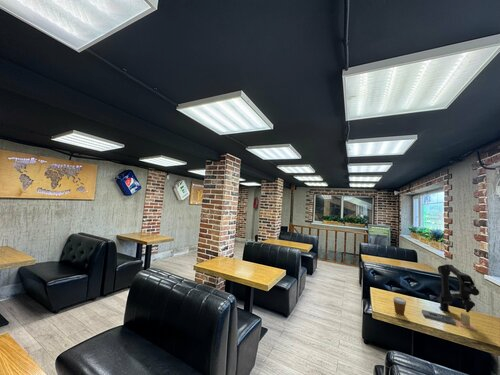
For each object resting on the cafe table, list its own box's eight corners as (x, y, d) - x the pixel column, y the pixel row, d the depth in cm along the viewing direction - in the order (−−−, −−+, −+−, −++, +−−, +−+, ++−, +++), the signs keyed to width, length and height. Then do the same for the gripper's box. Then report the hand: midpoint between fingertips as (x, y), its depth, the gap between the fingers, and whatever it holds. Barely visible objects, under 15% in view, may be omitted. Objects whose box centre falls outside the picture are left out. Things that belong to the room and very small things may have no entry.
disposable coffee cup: (400, 317, 173) (400, 302, 174) (390, 311, 182) (390, 297, 183) (409, 316, 176) (409, 301, 176) (398, 310, 185) (398, 296, 186)
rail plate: (421, 311, 184) (421, 309, 184) (451, 319, 174) (451, 316, 174) (424, 316, 176) (424, 314, 176) (456, 325, 166) (455, 322, 166)
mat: (454, 320, 173) (454, 319, 173) (471, 324, 168) (471, 323, 168) (459, 325, 165) (459, 325, 165) (477, 330, 160) (477, 329, 160)
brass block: (461, 322, 169) (460, 312, 170) (467, 324, 167) (467, 314, 168) (462, 324, 166) (462, 314, 166) (469, 326, 164) (469, 316, 164)
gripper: (447, 284, 181) (447, 302, 180) (455, 291, 165) (455, 311, 163) (465, 287, 175) (465, 306, 174) (475, 295, 159) (475, 316, 158)
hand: (465, 309), depth 167 cm, fingers open, 9 cm apart
